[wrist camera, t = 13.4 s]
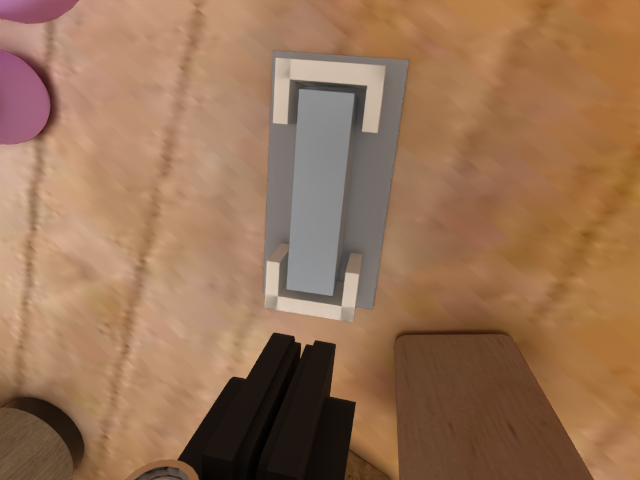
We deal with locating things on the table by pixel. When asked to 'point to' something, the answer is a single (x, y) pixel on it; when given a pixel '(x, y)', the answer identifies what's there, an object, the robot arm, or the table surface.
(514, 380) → the wooden block
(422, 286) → the table surface
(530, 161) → the table surface
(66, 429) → the lamp
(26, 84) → the container set
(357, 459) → the rock
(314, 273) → the blue-grey rectangular bar
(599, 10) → the table surface
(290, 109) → the endcap board
